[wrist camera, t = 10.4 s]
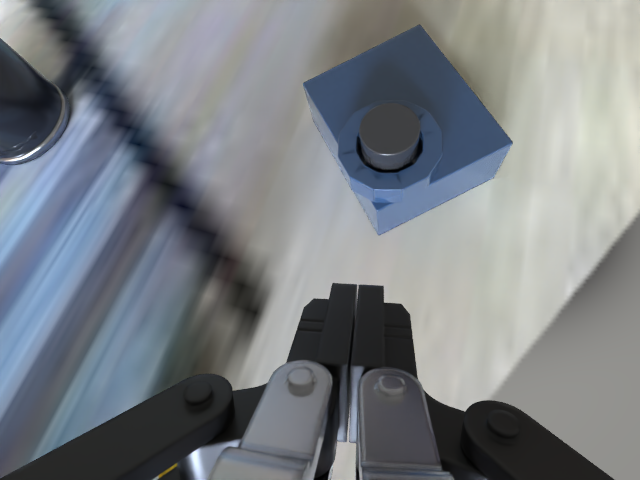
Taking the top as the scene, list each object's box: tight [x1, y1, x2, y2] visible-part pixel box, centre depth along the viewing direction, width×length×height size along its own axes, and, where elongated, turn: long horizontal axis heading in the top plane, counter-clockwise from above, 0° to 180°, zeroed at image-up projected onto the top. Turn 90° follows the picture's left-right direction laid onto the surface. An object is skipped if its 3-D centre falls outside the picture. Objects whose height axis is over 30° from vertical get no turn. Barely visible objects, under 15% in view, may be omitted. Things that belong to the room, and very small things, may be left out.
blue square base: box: [303, 25, 513, 235], centre depth 29 cm, size 12×11×7 cm
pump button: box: [359, 103, 421, 171], centre depth 25 cm, size 4×4×2 cm
